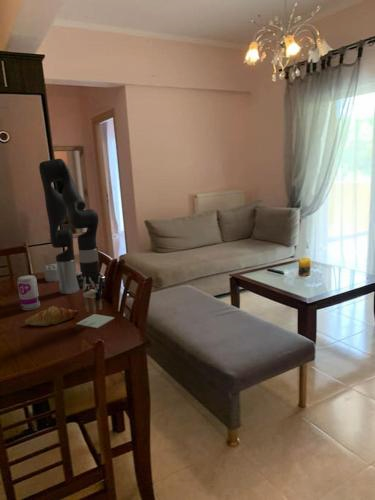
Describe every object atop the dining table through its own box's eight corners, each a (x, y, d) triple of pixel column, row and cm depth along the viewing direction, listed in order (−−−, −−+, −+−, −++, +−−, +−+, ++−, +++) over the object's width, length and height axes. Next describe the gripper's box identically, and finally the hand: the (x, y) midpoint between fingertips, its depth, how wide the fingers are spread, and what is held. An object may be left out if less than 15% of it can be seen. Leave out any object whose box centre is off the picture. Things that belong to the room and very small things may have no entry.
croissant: (26, 336, 152) (23, 323, 147) (25, 318, 159) (22, 305, 154) (80, 325, 159) (78, 313, 154) (76, 308, 166) (75, 296, 161)
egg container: (63, 275, 231) (61, 261, 230) (64, 280, 219) (62, 266, 218) (45, 277, 228) (43, 263, 226) (45, 282, 216) (43, 268, 214)
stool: (93, 307, 157) (91, 289, 156) (103, 308, 155) (101, 290, 153) (85, 311, 153) (83, 293, 151) (94, 313, 150) (92, 294, 149)
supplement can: (33, 311, 170) (29, 279, 167) (17, 310, 172) (12, 279, 169) (43, 304, 178) (39, 274, 175) (28, 304, 180) (23, 274, 177)
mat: (94, 314, 162) (94, 314, 162) (114, 318, 157) (114, 317, 157) (76, 324, 153) (76, 323, 153) (97, 328, 148) (97, 327, 148)
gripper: (109, 258, 149) (112, 298, 153) (81, 256, 156) (86, 295, 159) (96, 263, 143) (100, 304, 146) (68, 260, 149) (73, 300, 153)
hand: (93, 299), depth 153 cm, fingers closed on stool, 5 cm apart
